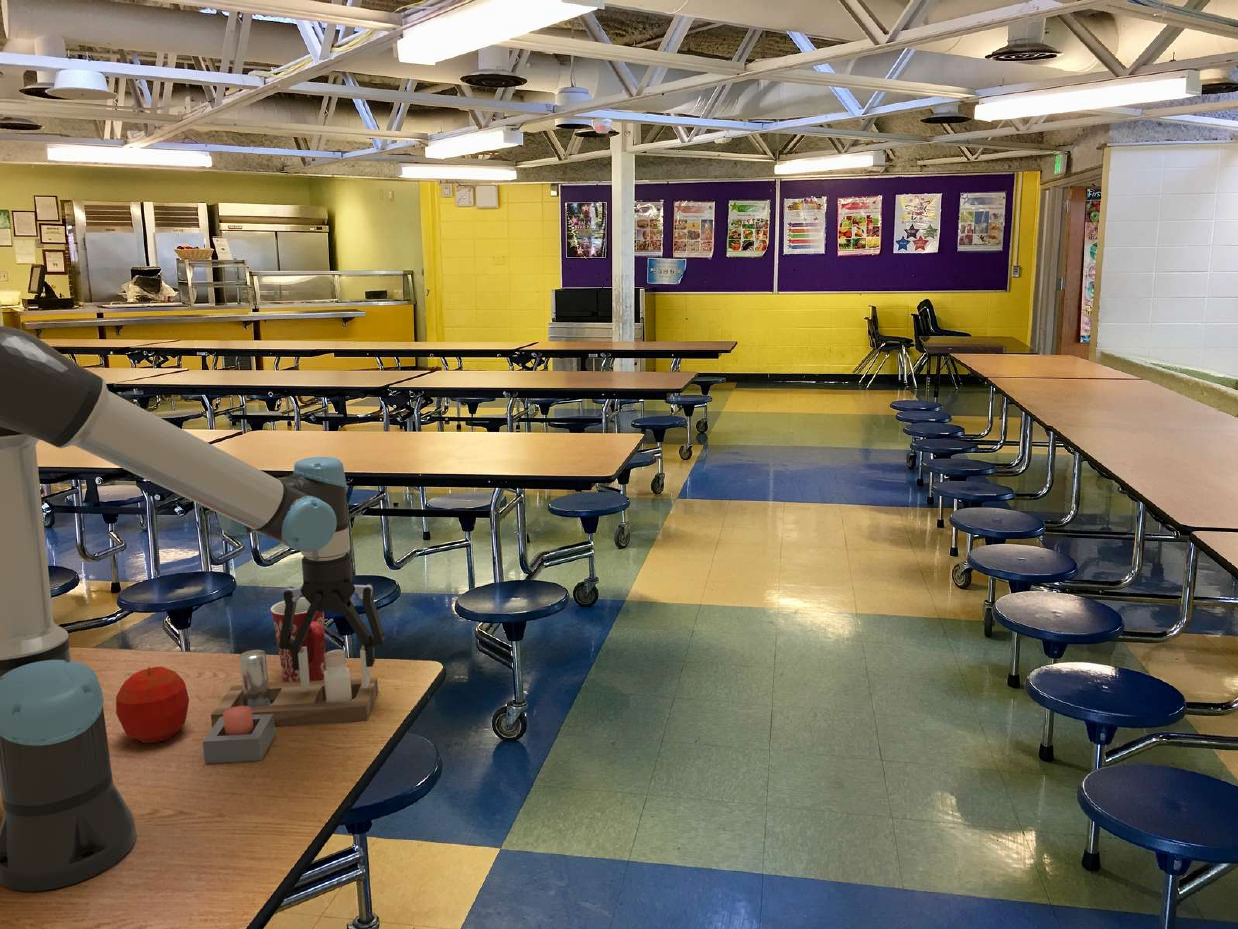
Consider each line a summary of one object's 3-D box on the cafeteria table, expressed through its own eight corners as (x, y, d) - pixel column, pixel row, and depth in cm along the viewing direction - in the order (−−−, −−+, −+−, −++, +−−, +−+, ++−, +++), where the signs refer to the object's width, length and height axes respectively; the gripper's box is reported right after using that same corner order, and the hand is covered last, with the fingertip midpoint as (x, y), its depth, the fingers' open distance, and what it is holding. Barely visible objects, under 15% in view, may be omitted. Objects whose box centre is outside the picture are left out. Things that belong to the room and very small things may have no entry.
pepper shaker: (353, 710, 155) (348, 655, 153) (327, 714, 154) (322, 659, 152) (351, 700, 159) (346, 647, 157) (326, 704, 157) (321, 650, 155)
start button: (250, 748, 141) (247, 717, 140) (222, 750, 141) (219, 718, 140) (258, 735, 145) (254, 705, 144) (231, 737, 144) (227, 706, 143)
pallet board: (367, 720, 151) (365, 706, 151) (212, 729, 149) (210, 714, 149) (378, 691, 162) (377, 677, 161) (234, 699, 160) (232, 685, 159)
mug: (269, 676, 169) (262, 604, 166) (318, 662, 175) (312, 593, 172) (297, 699, 159) (289, 623, 157) (347, 684, 165) (341, 610, 162)
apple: (167, 715, 154) (159, 649, 152) (206, 729, 149) (198, 661, 147) (107, 742, 146) (97, 672, 144) (146, 757, 141) (137, 685, 138)
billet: (267, 716, 153) (261, 658, 151) (241, 718, 153) (235, 660, 151) (273, 705, 157) (268, 649, 155) (249, 707, 157) (243, 650, 155)
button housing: (261, 760, 139) (258, 738, 139) (205, 763, 139) (202, 741, 138) (275, 734, 147) (273, 713, 146) (222, 737, 146) (220, 716, 146)
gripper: (398, 545, 155) (406, 673, 160) (262, 550, 154) (273, 679, 158) (391, 558, 148) (400, 692, 152) (248, 563, 146) (261, 699, 151)
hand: (335, 686), depth 155 cm, fingers open, 9 cm apart
